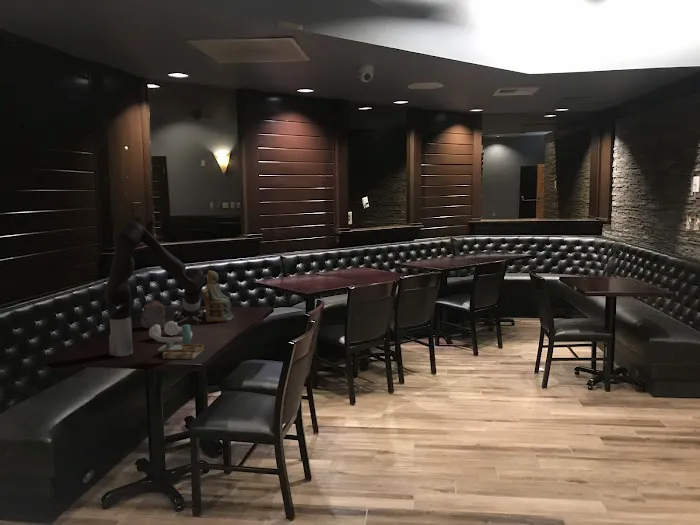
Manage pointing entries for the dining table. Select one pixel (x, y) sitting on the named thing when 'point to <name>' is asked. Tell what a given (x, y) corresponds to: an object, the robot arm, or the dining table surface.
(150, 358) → the dining table surface
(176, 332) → the headphones
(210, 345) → the dining table surface
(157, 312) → the rock
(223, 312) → the sculpture
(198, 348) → the board
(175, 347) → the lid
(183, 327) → the peg
